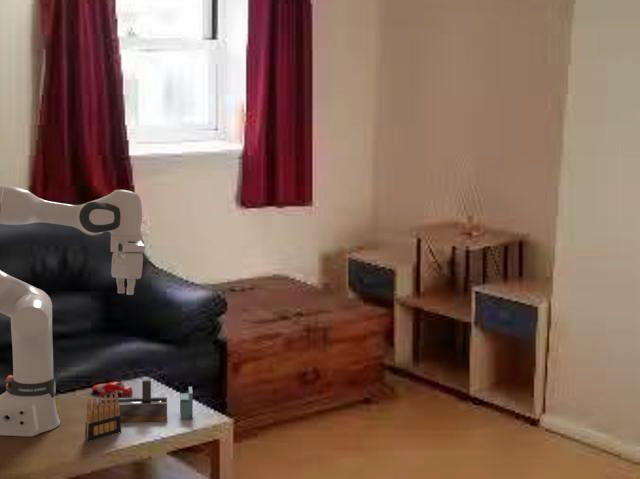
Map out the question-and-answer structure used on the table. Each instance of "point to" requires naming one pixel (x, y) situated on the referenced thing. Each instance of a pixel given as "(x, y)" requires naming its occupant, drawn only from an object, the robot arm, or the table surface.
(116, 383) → the race car
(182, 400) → the socket block
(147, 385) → the tube
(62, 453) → the table surface
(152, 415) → the channel tray
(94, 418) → the ammunition clip
